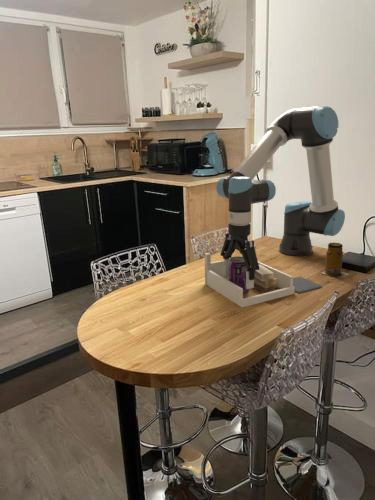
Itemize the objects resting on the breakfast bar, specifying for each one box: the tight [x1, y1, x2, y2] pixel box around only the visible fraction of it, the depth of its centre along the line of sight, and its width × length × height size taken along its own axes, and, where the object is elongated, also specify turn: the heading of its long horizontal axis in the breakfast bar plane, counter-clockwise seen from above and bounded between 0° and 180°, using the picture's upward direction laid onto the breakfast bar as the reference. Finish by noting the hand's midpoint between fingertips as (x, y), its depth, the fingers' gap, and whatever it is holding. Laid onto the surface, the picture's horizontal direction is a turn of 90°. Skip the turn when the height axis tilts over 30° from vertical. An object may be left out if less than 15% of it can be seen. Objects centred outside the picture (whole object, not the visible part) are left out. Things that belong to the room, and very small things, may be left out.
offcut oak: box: [254, 277, 277, 288], centre depth 140 cm, size 5×11×2 cm, turn 32°
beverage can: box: [228, 256, 249, 294], centre depth 135 cm, size 7×7×12 cm
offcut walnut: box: [253, 283, 277, 294], centre depth 141 cm, size 5×12×2 cm, turn 30°
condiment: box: [320, 242, 350, 279], centre depth 149 cm, size 7×8×12 cm
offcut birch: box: [250, 265, 274, 281], centre depth 139 cm, size 5×10×2 cm, turn 18°
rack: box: [204, 244, 295, 308], centre depth 137 cm, size 22×24×12 cm
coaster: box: [293, 276, 323, 294], centre depth 140 cm, size 11×11×1 cm
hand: (238, 281), depth 136 cm, fingers open, 13 cm apart
